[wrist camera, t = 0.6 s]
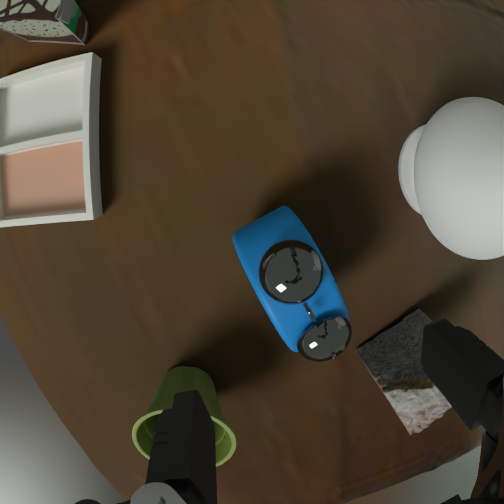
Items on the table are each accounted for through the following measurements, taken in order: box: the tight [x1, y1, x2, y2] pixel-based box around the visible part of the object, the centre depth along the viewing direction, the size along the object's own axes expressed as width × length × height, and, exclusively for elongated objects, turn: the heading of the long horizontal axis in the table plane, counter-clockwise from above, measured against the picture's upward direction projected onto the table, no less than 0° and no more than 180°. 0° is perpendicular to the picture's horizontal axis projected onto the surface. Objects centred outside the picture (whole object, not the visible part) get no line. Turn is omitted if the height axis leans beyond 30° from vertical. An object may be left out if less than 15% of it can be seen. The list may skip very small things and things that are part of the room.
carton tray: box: [0, 52, 103, 227], centre depth 29 cm, size 18×16×3 cm
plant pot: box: [132, 366, 236, 467], centre depth 36 cm, size 12×12×11 cm
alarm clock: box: [233, 206, 352, 362], centre depth 30 cm, size 13×6×15 cm, turn 28°
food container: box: [0, 0, 89, 45], centre depth 21 cm, size 12×6×10 cm, turn 72°
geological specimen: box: [355, 309, 452, 435], centre depth 35 cm, size 11×6×15 cm, turn 124°
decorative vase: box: [398, 97, 504, 260], centre depth 24 cm, size 18×18×25 cm
